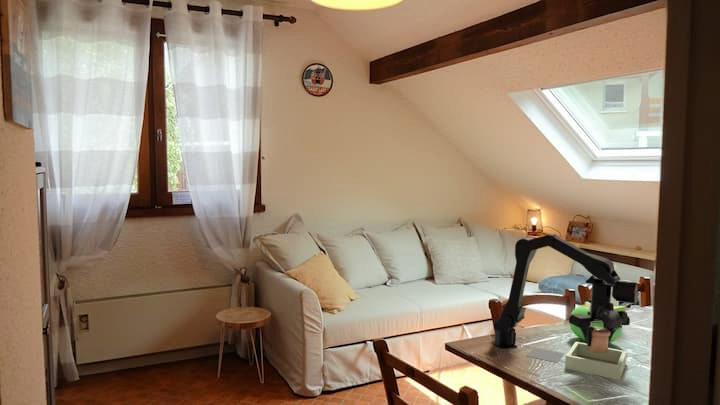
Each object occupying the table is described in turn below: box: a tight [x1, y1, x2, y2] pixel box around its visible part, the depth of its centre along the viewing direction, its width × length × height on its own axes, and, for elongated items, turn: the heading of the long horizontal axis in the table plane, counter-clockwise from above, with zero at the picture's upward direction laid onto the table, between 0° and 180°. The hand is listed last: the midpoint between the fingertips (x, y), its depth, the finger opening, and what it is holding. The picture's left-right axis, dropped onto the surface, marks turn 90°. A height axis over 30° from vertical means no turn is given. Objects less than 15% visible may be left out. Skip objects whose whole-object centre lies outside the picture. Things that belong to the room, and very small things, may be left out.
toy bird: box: [568, 301, 628, 344], centre depth 202 cm, size 18×17×15 cm
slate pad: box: [526, 347, 565, 364], centre depth 187 cm, size 10×10×1 cm
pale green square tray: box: [564, 341, 628, 381], centre depth 179 cm, size 16×16×4 cm
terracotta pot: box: [587, 326, 610, 354], centre depth 178 cm, size 7×7×7 cm
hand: (597, 345), depth 178 cm, fingers closed on terracotta pot, 6 cm apart
